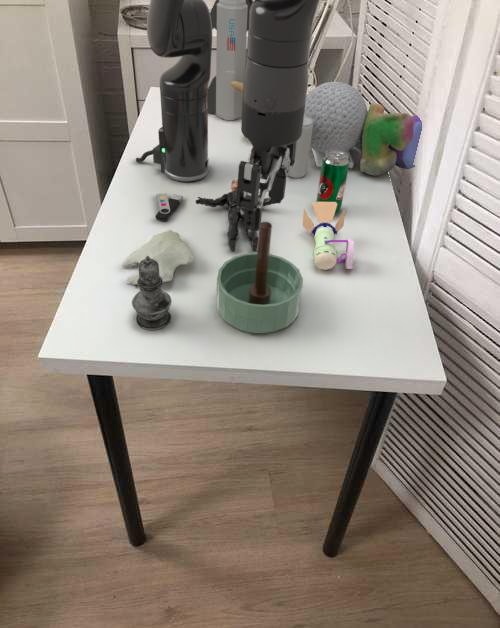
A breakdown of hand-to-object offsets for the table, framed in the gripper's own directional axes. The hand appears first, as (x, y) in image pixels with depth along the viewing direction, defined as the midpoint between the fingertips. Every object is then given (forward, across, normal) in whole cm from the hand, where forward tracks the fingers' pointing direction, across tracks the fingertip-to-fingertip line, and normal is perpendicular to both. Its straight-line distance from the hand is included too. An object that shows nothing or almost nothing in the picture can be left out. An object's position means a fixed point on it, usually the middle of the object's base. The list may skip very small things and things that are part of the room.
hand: (264, 213), depth 77 cm
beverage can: (+18, -44, -10) cm, 48 cm away
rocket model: (+18, -64, -36) cm, 76 cm away
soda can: (+18, -33, +1) cm, 38 cm away
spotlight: (+18, -19, +5) cm, 27 cm away
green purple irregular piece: (+12, -60, +13) cm, 63 cm away
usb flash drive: (+18, -18, -28) cm, 38 cm away
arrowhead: (+18, -3, -19) cm, 26 cm away
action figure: (+18, -21, -13) cm, 30 cm away
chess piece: (+18, +10, -13) cm, 24 cm away
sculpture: (+11, -54, +2) cm, 55 cm away
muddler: (+17, 0, 0) cm, 17 cm away
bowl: (+18, 0, 0) cm, 18 cm away
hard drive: (+18, -56, -6) cm, 59 cm away
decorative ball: (+11, -50, 0) cm, 51 cm away
